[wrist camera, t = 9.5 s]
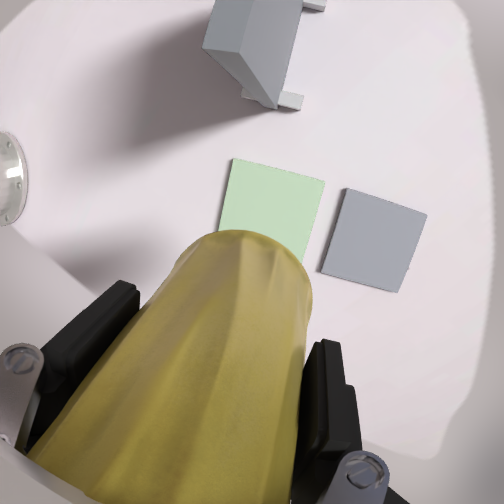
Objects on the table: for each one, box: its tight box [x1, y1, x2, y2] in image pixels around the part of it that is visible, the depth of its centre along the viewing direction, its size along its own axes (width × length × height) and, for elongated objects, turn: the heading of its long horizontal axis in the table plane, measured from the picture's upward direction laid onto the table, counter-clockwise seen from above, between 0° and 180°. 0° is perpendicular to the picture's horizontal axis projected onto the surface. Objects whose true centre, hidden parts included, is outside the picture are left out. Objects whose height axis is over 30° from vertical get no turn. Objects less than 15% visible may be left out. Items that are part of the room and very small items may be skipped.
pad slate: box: [321, 188, 427, 293], centre depth 27 cm, size 8×8×1 cm
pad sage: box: [218, 158, 325, 264], centre depth 28 cm, size 8×8×1 cm
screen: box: [202, 0, 327, 111], centre depth 14 cm, size 5×12×18 cm, turn 167°
